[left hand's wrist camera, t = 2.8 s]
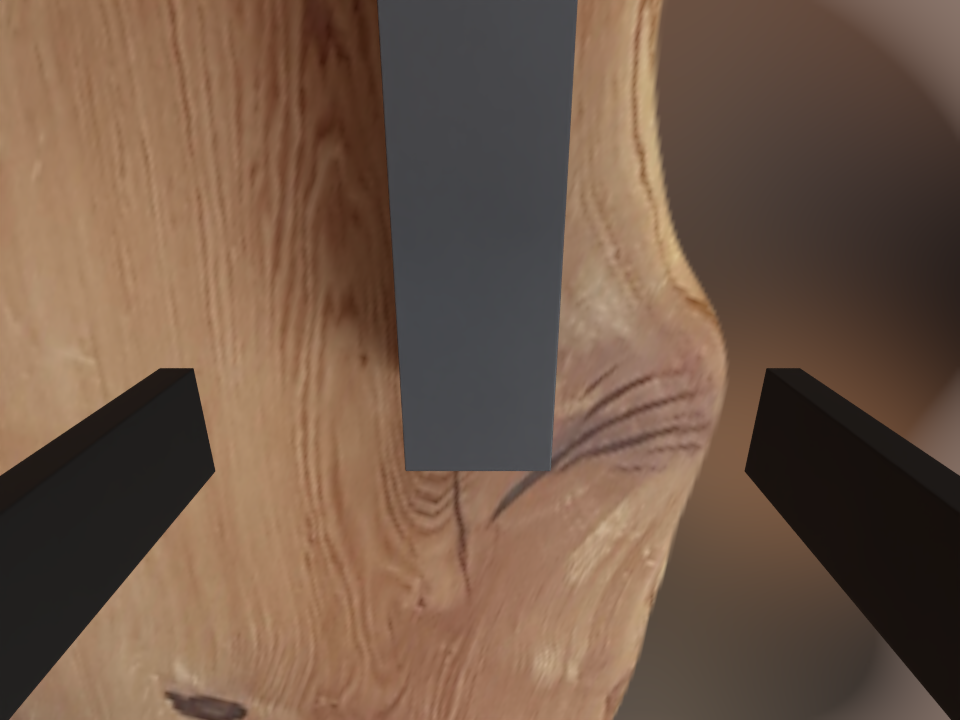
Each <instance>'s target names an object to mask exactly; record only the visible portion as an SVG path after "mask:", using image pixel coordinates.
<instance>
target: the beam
mask: <svg viewBox="0 0 960 720" xmlns="http://www.w3.org/2000/svg"><path fill="white" fill-rule="evenodd" d="M577 1H578V0H377V6H378V22H379V39H380V56H381V72H382V89H383V106H384V122H385V139H386V155H387V172H388V189H389V205H390V222H391V239H392V255H393V272H394V289H395V305H396V322H397V339H398V355H399V372H400V389H401V405H402V422H403V439H404V455H405V470H406V471H550V470H551V457H552V440H553V422H554V404H555V387H556V369H557V352H558V334H559V317H560V299H561V281H562V264H563V246H564V229H565V211H566V194H567V176H568V159H569V141H570V123H571V106H572V88H573V71H574V53H575V36H576V18H577Z"/></svg>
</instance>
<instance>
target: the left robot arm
mask: <svg viewBox="0 0 960 720" xmlns="http://www.w3.org/2000/svg"><path fill="white" fill-rule="evenodd" d="M214 472H215V467H214V462H213V458H212V453H211V448H210V444H209V439H208V434H207V430H206V425H205V420H204V415H203V411H202V406H201V401H200V397H199V392H198V387H197V383H196V378H195V373H194V369H193V368H160V369H158V370H157V371H155V372H154V373H152V374H151V375H149V376H148V377H146V378H145V379H143V380H142V381H140V382H139V383H138V384H136V385H135V386H133V387H132V388H130V389H129V390H127V391H126V392H124V393H123V394H121V395H120V396H118V397H117V398H115V399H114V400H112V401H111V402H109V403H108V404H106V405H105V406H103V407H102V408H100V409H99V410H97V411H96V412H94V413H93V414H91V415H90V416H88V417H87V418H86V419H84V420H83V421H81V422H80V423H78V424H77V425H75V426H74V427H72V428H71V429H69V430H68V431H66V432H65V433H63V434H62V435H60V436H59V437H57V438H56V439H54V440H53V441H51V442H50V443H48V444H47V445H45V446H44V447H42V448H41V449H39V450H38V451H37V452H35V453H34V454H32V455H31V456H29V457H28V458H26V459H25V460H23V461H22V462H20V463H19V464H17V465H16V466H14V467H13V468H11V469H10V470H8V471H7V472H5V473H4V474H2V475H1V476H0V720H9V719H10V718H11V717H12V715H13V714H14V713H15V712H16V711H17V709H18V708H19V707H20V706H21V704H22V703H23V702H24V701H25V700H26V698H27V697H28V696H29V695H30V694H31V692H32V691H33V690H34V689H35V688H36V686H37V685H38V684H39V683H40V682H41V680H42V679H43V678H44V677H45V676H46V674H47V673H48V672H49V671H50V670H51V668H52V667H53V666H54V665H55V664H56V662H57V661H58V660H59V659H60V658H61V656H62V655H63V654H64V653H65V652H66V650H67V649H68V648H69V647H70V646H71V644H72V643H73V642H74V641H75V640H76V638H77V637H78V636H79V635H80V634H81V632H82V631H83V630H84V629H85V627H86V626H87V625H88V624H89V623H90V621H91V620H92V619H93V618H94V617H95V615H96V614H97V613H98V612H99V611H100V609H101V608H102V607H103V606H104V605H105V603H106V602H107V601H108V600H109V599H110V597H111V596H112V595H113V594H114V593H115V591H116V590H117V589H118V588H119V587H120V585H121V584H122V583H123V582H124V581H125V579H126V578H127V577H128V576H129V575H130V573H131V572H132V571H133V570H134V569H135V567H136V566H137V565H138V564H139V563H140V561H141V560H142V559H143V558H144V557H145V555H146V554H147V553H148V552H149V550H150V549H151V548H152V547H153V546H154V544H155V543H156V542H157V541H158V540H159V538H160V537H161V536H162V535H163V534H164V532H165V531H166V530H167V529H168V528H169V526H170V525H171V524H172V523H173V522H174V520H175V519H176V518H177V517H178V516H179V514H180V513H181V512H182V511H183V510H184V508H185V507H186V506H187V505H188V504H189V502H190V501H191V500H192V499H193V498H194V496H195V495H196V494H197V493H198V492H199V490H200V489H201V488H202V487H203V486H204V484H205V483H206V482H207V481H208V480H209V478H210V477H211V476H212V475H213V474H214ZM745 472H746V474H747V475H748V476H749V477H750V478H751V479H752V481H753V482H754V483H755V484H756V486H757V487H758V488H759V489H760V490H761V492H762V493H763V494H764V495H765V496H766V498H767V499H768V500H769V501H770V502H771V503H772V505H773V506H774V507H775V508H776V510H777V511H778V512H779V513H780V514H781V516H782V517H783V518H784V519H785V520H786V522H787V523H788V524H789V525H790V526H791V528H792V529H793V530H794V531H795V532H796V534H797V535H798V536H799V537H800V538H801V540H802V541H803V542H804V543H805V544H806V546H807V547H808V548H809V549H810V550H811V552H812V553H813V554H814V555H815V556H816V558H817V559H818V560H819V561H820V562H821V564H822V565H823V566H824V567H825V569H826V570H827V571H828V572H829V573H830V575H831V576H832V577H833V578H834V579H835V581H836V582H837V583H838V584H839V585H840V587H841V588H842V589H843V590H844V591H845V593H846V594H847V595H848V596H849V597H850V599H851V600H852V601H853V602H854V603H855V605H856V606H857V607H858V608H859V609H860V611H861V612H862V613H863V614H864V615H865V617H866V618H867V619H868V620H869V621H870V623H871V624H872V625H873V626H874V627H875V629H876V630H877V631H878V632H879V633H880V635H881V636H882V637H883V638H884V639H885V641H886V642H887V643H888V644H889V646H890V647H891V648H892V649H893V650H894V652H895V653H896V654H897V655H898V656H899V657H900V659H901V660H902V661H903V662H904V664H905V665H906V666H907V667H908V668H909V670H910V671H911V672H912V673H913V674H914V676H915V677H916V678H917V679H918V680H919V682H920V683H921V684H922V685H923V686H924V688H925V689H926V690H927V691H928V692H929V694H930V695H931V696H932V697H933V698H934V700H935V701H936V702H937V703H938V704H939V706H940V707H941V708H942V709H943V710H944V712H945V713H946V714H947V715H948V717H949V718H950V719H951V720H960V476H959V475H958V474H956V473H955V472H953V471H952V470H950V469H949V468H947V467H946V466H944V465H943V464H941V463H940V462H938V461H937V460H935V459H934V458H932V457H931V456H929V455H928V454H926V453H925V452H923V451H922V450H920V449H919V448H918V447H916V446H915V445H913V444H912V443H910V442H909V441H907V440H906V439H904V438H903V437H901V436H900V435H898V434H897V433H895V432H894V431H892V430H891V429H889V428H888V427H886V426H885V425H883V424H882V423H880V422H879V421H877V420H876V419H874V418H873V417H872V416H870V415H868V414H867V413H866V412H864V411H863V410H861V409H860V408H858V407H857V406H855V405H854V404H852V403H851V402H849V401H848V400H846V399H845V398H843V397H842V396H840V395H839V394H837V393H836V392H834V391H833V390H831V389H830V388H828V387H827V386H825V385H824V384H822V383H821V382H820V381H818V380H816V379H815V378H814V377H812V376H811V375H809V374H808V373H806V372H805V371H803V370H802V369H800V368H767V369H766V373H765V378H764V383H763V387H762V392H761V397H760V401H759V406H758V411H757V416H756V420H755V425H754V430H753V434H752V439H751V444H750V448H749V453H748V458H747V462H746V467H745Z"/></svg>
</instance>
